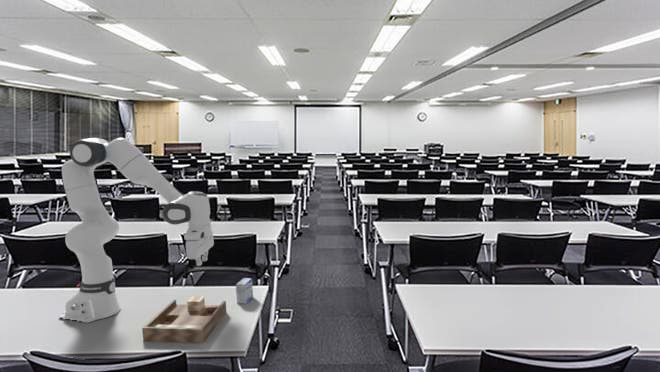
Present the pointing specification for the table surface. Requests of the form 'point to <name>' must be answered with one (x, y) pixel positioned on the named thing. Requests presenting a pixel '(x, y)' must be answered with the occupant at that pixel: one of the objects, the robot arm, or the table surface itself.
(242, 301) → the medicine box
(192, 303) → the block
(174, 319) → the box
